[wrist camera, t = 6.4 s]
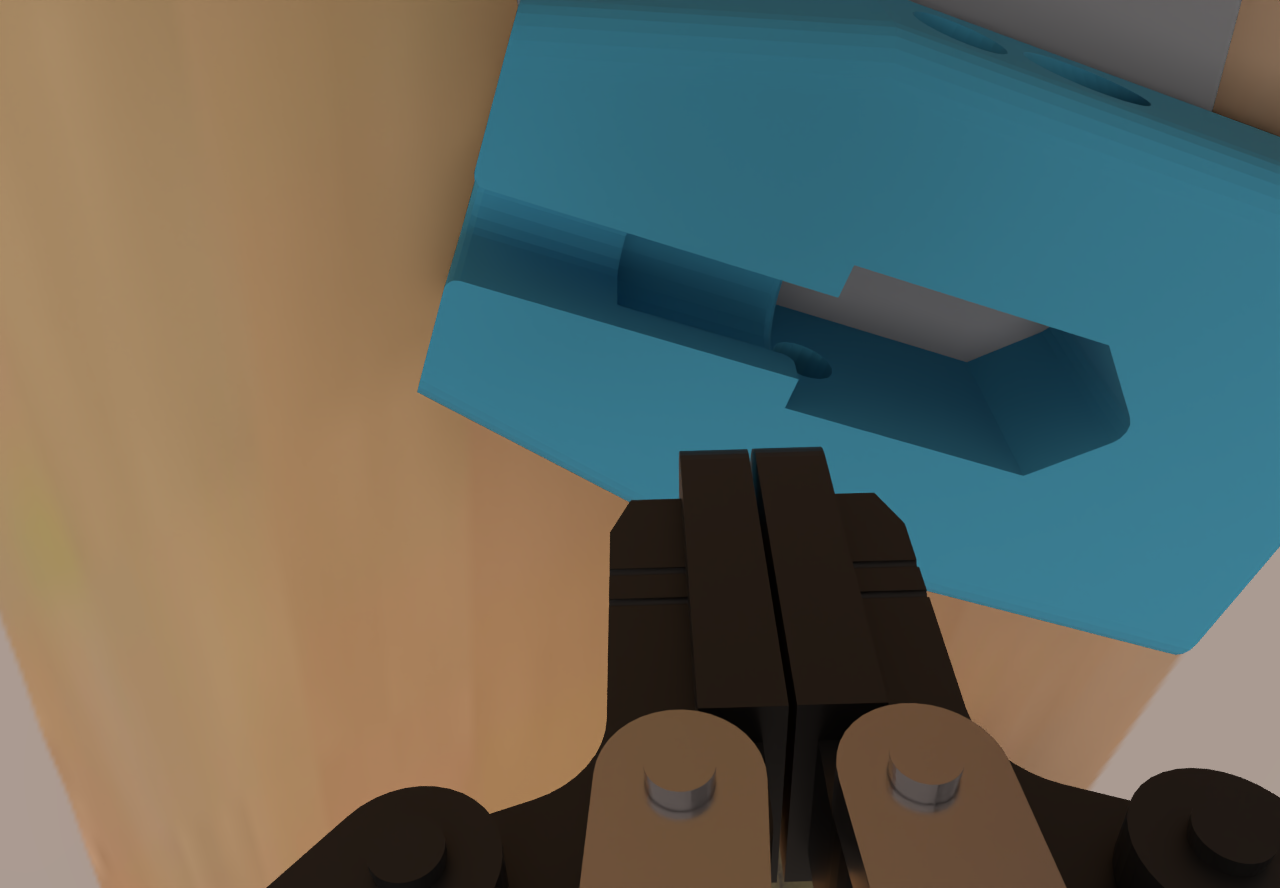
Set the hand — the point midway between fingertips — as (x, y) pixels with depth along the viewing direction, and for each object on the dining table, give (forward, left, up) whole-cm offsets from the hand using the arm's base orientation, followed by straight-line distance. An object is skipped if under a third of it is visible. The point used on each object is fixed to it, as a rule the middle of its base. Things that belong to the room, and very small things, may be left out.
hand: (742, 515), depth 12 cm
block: (+1, -5, -13) cm, 14 cm away
